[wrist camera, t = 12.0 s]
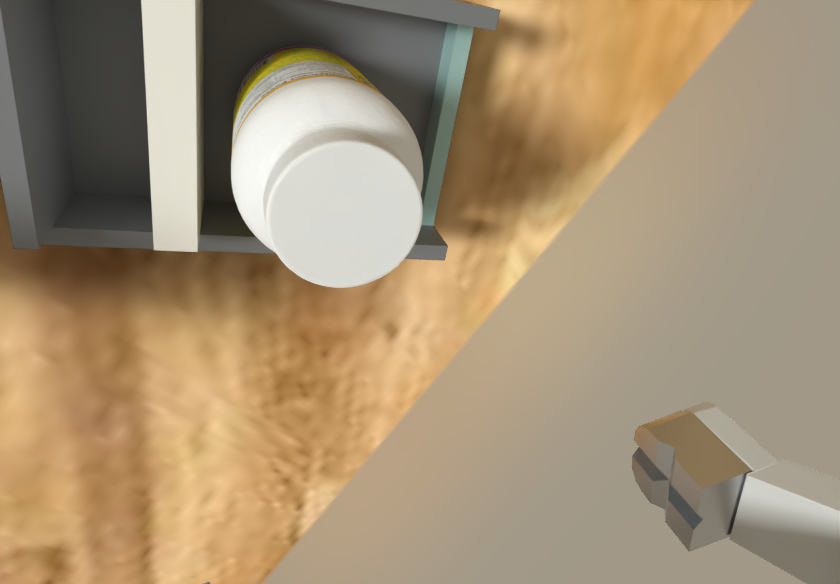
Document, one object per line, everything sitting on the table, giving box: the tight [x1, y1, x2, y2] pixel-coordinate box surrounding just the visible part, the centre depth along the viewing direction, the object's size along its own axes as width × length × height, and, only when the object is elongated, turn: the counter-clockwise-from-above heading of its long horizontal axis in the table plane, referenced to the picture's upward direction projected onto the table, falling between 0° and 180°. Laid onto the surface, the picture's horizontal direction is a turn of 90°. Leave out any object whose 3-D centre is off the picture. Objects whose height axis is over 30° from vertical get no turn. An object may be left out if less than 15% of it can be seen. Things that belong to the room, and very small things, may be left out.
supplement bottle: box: [231, 45, 423, 288], centre depth 22 cm, size 7×7×13 cm
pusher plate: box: [141, 0, 204, 252], centre depth 23 cm, size 9×2×6 cm, turn 170°
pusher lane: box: [0, 0, 500, 260], centre depth 25 cm, size 12×18×7 cm, turn 80°
